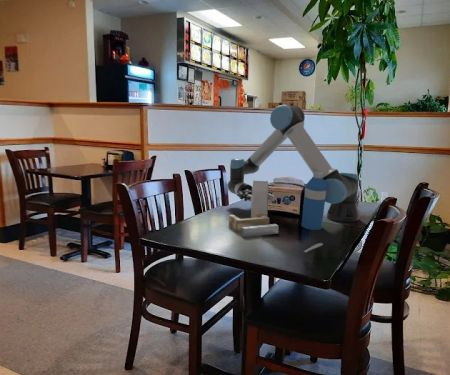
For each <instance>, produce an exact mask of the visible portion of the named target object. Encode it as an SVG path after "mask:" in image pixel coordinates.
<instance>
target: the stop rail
mask: <svg viewBox="0 0 450 375" xmlns="http://www.w3.org/2000/svg"><path fill="white" fill-rule="evenodd" d="M276 234H279V225H278V224H276V223H272V224H271V223H270V224H269V225H260V226H250V227H242V232H241V236H242V237H244V238H248V237H256V236H257V237H258V236H267V235H276Z"/></svg>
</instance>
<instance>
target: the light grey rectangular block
mask: <svg viewBox="0 0 450 375" xmlns="http://www.w3.org/2000/svg"><path fill="white" fill-rule="evenodd" d="M268 192H269V181H267V180H253V181H252V196H254V197H255V203H253V202H251V207H250V208H251V209H250V210H251V212H250V218H255V213H258V212H259V213H261V214H263V215H264V216H266V217H268V206H269V205H268V204H269V199H268Z"/></svg>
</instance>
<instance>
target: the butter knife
mask: <svg viewBox="0 0 450 375" xmlns="http://www.w3.org/2000/svg"><path fill="white" fill-rule="evenodd" d="M323 245H324V243H322V242H319V243H316V244H313V245H312V246H310V247H308V248H307V249H306V250H303V253H307V252H309V251H312V250H314V249H316V248H319V247H321V246H323Z"/></svg>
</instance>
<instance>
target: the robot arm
mask: <svg viewBox="0 0 450 375" xmlns="http://www.w3.org/2000/svg"><path fill="white" fill-rule="evenodd" d="M305 115H306V114H305V113H304V110H303V109H302V108H301V107H299V106H296V105H288V104H281V105H278V106H276V107H274V109H273V110H272V111H271V112H270V118H269V120H270V124H271V126H272V128H274V130H273V131H272V133H271V134H270V135H269V136H268V137H267V138H266V140H264V142H263V143H262V144H261V145H260V146H258V147H257V149H256V150H255V151H254V152H253V153H251V155H250V156H249V157H248V159H246V160H245V159H244V158H238V157H236V158H231V159H230V164H229V167H230V169H229V171H230V174H229V180H228V183H227V185H226V187H227V190H228V191H229V192H230V193H231V194H233V195H236V197H239V199H240V200H241V201H242V200H244V202H247V201H249V202H251V203H252V202H253V203H255V197H254V196H252V187H253V185H251V184H249V183H247V182H244V179H245V175H251V174H252V175H253V174H254V173H257V172H258V171H259V170H260V166H261V165H262V164H263V163H264V162H265V161H266V160H267V159H268V158H269V157H270V156H271V155H272V154H273V153H274V152H275V151H276V150H277V149H278V148H279V147H280V146H281V145H282V144H283V143H284V142H285V141H286V140H287V139H288V140H289V141H290V142H291V144H292V146H294V148H295V149H296V151H297V153H298V154H299V155H300V157H301V158H302V160H303V161H304V163H305V164H306V165H307V167H308V169H309V170H310V172H311V173H312V174H313V173H314V172H321V173H323V176H322V178H323V179H324V181H325V183H326V184H327V190H326V198H325V203H327V204H330V206H329V207H328V210H327V213H326V218H327V219H328V220H330V221H331V220H332V221H335V222H339V223H340V222H343V223H355V222H358V221H359V218H360V217H359V216H360V215H359V211H358V207H357V199H358V188H359V186H358V185H359V175H358V174H357V173H351V172H350V173H349V172H339V170H338V169H337V168H333V167H332V166H331V164H330V162H328V160H327V159H326V157H325V156H324V155H323V153H322V152H321V150H320V149H319V148H318V146H317V144H316V143H315V142H314V141H313V139H312V138H311V136H310V135H309V133H308V132H307V130H306V128H304V127H305V117H306V116H305ZM275 197H276V196H275V195H274V194H273V192H271V191H269V190H268V201H271V202H275V200H276V199H275Z"/></svg>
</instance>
